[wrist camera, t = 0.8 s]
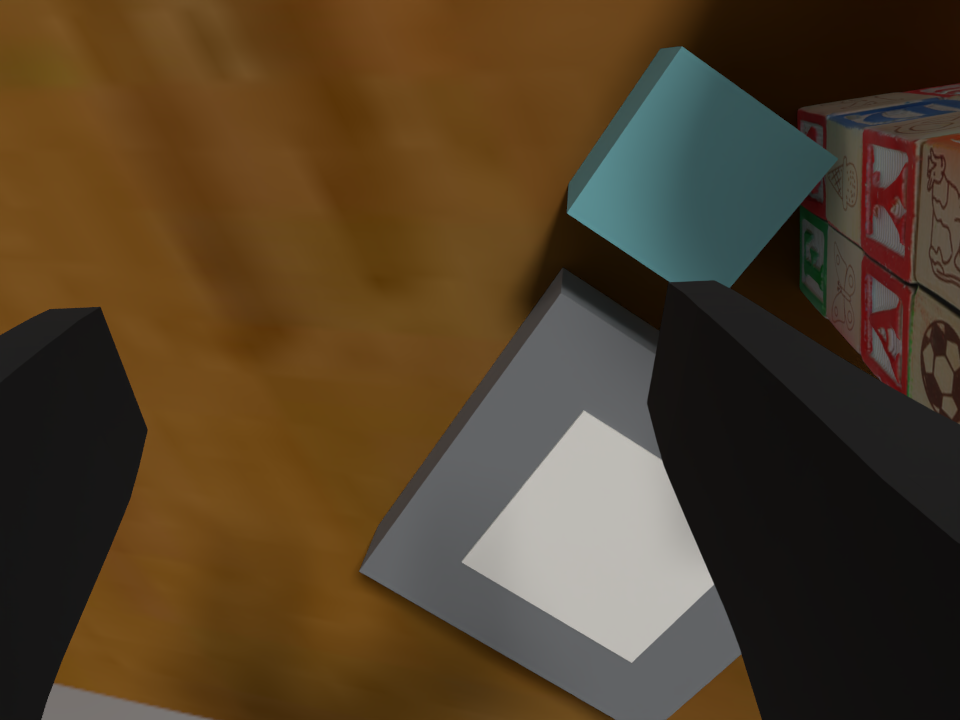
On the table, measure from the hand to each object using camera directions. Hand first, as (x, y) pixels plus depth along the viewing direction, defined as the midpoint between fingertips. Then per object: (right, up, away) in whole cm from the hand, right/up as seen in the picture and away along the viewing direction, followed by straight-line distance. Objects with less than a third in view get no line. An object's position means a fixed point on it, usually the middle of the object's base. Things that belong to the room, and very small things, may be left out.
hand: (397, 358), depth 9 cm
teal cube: (+8, +7, +14) cm, 17 cm away
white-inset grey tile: (+6, -6, +19) cm, 21 cm away
